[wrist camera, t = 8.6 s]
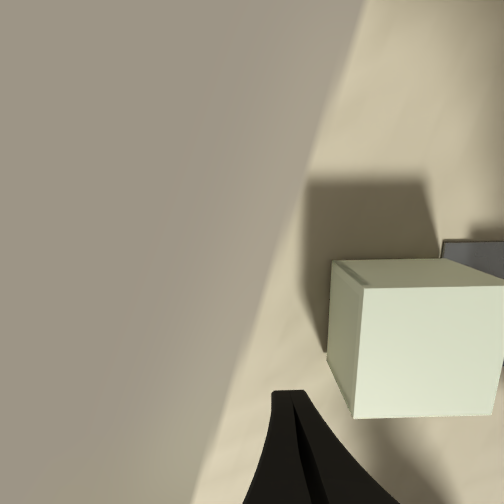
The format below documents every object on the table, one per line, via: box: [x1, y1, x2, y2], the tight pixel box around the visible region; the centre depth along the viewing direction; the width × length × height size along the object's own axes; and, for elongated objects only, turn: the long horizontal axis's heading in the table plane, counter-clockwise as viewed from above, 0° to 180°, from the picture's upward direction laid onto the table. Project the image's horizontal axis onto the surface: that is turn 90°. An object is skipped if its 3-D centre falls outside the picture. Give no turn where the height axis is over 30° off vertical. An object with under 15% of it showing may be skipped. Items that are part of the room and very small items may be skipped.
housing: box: [327, 258, 504, 419], centre depth 18 cm, size 8×8×6 cm
